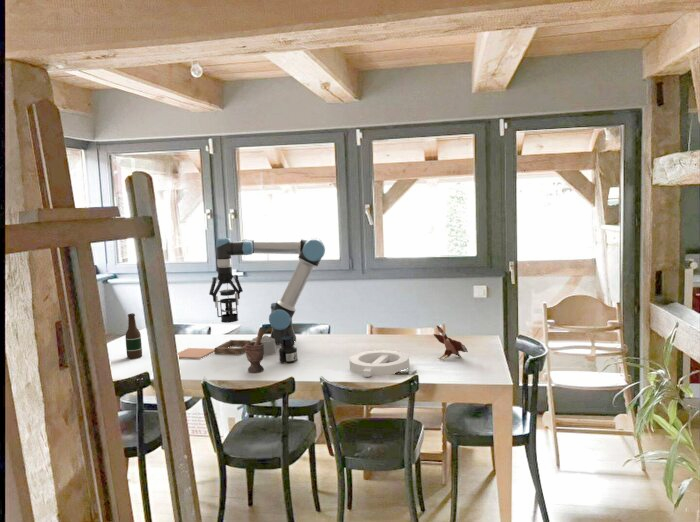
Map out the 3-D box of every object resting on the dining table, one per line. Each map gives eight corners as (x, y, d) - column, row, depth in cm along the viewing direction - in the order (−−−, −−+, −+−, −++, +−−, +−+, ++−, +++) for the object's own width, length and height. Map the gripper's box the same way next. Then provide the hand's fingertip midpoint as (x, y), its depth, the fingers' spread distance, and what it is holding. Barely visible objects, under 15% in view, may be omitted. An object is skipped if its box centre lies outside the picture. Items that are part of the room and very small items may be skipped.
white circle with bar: (364, 380, 249) (364, 369, 249) (340, 365, 275) (340, 355, 274) (420, 370, 260) (419, 360, 259) (392, 356, 286) (391, 347, 285)
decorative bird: (413, 348, 284) (422, 320, 285) (443, 357, 291) (451, 330, 292) (443, 362, 258) (453, 330, 258) (474, 371, 264) (484, 341, 265)
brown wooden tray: (256, 345, 321) (256, 340, 321) (241, 354, 303) (241, 348, 303) (231, 345, 325) (230, 339, 325) (214, 353, 307) (214, 348, 307)
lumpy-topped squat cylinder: (257, 349, 311) (256, 334, 311) (279, 350, 307) (278, 335, 306) (248, 354, 302) (247, 338, 301) (270, 355, 297) (269, 339, 297)
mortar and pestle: (252, 366, 278) (250, 326, 277) (269, 366, 277) (267, 326, 275) (244, 373, 267) (241, 331, 265) (261, 373, 266) (259, 331, 264)
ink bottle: (290, 364, 278) (289, 340, 277) (275, 363, 283) (274, 339, 282) (301, 359, 287) (300, 336, 286) (287, 358, 291) (285, 335, 290)
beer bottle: (145, 355, 310) (141, 312, 307) (135, 359, 302) (132, 315, 300) (133, 355, 312) (130, 312, 310) (124, 359, 305) (120, 315, 303)
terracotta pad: (217, 350, 314) (217, 348, 314) (200, 359, 297) (200, 357, 297) (188, 349, 319) (188, 348, 319) (170, 358, 301) (170, 356, 301)
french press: (237, 318, 319) (234, 277, 316) (241, 321, 310) (238, 279, 308) (216, 320, 314) (213, 279, 312) (220, 323, 305) (217, 281, 303)
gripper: (242, 264, 318) (244, 302, 320) (201, 268, 306) (204, 308, 308) (247, 265, 312) (249, 304, 314) (205, 269, 300) (208, 309, 302)
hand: (227, 306), depth 311 cm, fingers closed on french press, 11 cm apart
